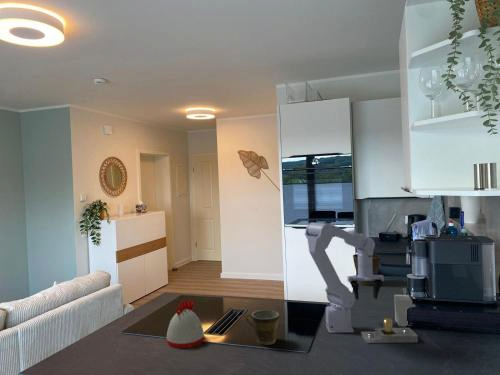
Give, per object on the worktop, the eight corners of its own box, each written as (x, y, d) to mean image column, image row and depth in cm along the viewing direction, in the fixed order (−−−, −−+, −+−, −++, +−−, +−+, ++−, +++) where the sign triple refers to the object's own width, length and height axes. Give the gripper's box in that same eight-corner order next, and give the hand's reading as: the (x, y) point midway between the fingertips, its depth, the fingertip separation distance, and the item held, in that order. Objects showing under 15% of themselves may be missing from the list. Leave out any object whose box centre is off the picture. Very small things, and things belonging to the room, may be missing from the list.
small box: (413, 327, 149) (412, 300, 149) (398, 326, 150) (397, 299, 150) (409, 320, 157) (408, 294, 157) (394, 319, 158) (394, 294, 158)
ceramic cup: (283, 338, 142) (282, 311, 142) (273, 349, 133) (273, 320, 133) (252, 333, 148) (251, 307, 148) (240, 343, 139) (239, 316, 139)
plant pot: (349, 281, 221) (348, 254, 221) (374, 279, 223) (373, 252, 223) (359, 288, 206) (359, 258, 206) (386, 286, 208) (385, 257, 208)
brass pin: (385, 340, 137) (385, 321, 137) (383, 337, 140) (382, 318, 140) (394, 340, 137) (393, 320, 137) (391, 336, 140) (390, 318, 140)
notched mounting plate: (366, 343, 135) (366, 334, 135) (361, 334, 143) (360, 327, 143) (417, 342, 135) (417, 334, 135) (409, 334, 142) (409, 326, 142)
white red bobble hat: (211, 339, 144) (210, 299, 144) (181, 351, 134) (180, 308, 134) (188, 330, 153) (187, 293, 153) (159, 341, 143) (158, 301, 143)
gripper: (350, 268, 153) (351, 302, 153) (386, 266, 153) (387, 300, 153) (345, 264, 160) (346, 296, 160) (379, 263, 160) (380, 295, 160)
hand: (366, 298), depth 157 cm, fingers open, 7 cm apart
